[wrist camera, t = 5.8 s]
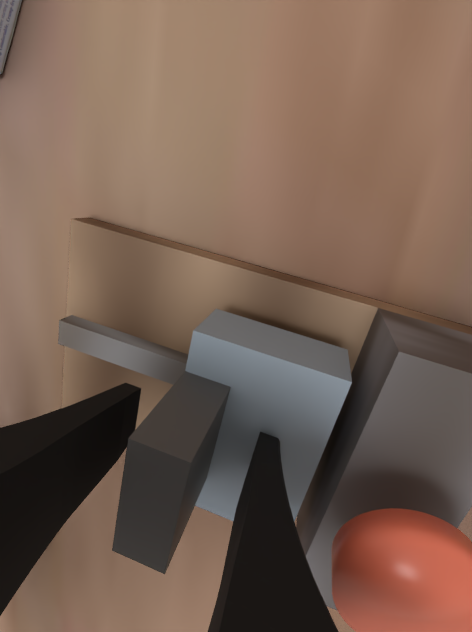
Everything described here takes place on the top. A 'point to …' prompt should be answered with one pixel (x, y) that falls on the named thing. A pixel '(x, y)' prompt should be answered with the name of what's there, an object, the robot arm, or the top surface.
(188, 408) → the carriage
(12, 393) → the top surface
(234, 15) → the top surface
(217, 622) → the robot arm
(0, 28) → the medicine box
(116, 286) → the rail bed
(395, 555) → the button
